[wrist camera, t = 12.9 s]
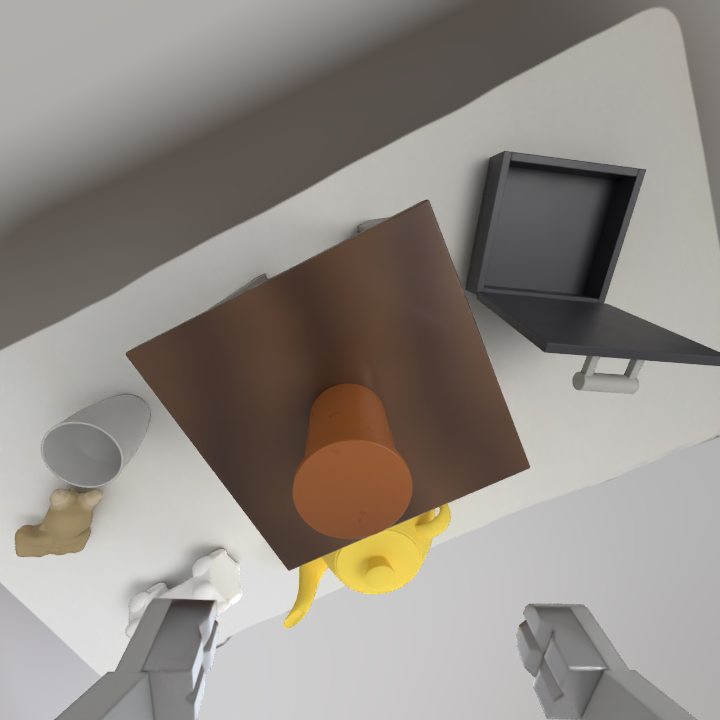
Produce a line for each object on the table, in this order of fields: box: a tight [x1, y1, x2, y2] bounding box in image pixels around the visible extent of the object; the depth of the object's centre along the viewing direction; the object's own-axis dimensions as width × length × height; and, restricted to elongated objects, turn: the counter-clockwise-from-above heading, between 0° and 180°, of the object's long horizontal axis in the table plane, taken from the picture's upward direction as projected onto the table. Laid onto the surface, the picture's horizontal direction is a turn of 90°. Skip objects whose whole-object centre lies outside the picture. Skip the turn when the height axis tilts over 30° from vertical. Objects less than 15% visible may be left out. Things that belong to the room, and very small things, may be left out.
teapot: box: [284, 504, 451, 628], centre depth 50 cm, size 25×18×14 cm
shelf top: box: [126, 200, 530, 571], centre depth 20 cm, size 16×16×1 cm
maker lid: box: [477, 292, 720, 394], centre depth 37 cm, size 15×16×5 cm
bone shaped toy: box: [125, 549, 242, 638], centre depth 55 cm, size 15×9×8 cm, turn 122°
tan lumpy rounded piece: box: [15, 488, 103, 557], centre depth 50 cm, size 8×7×12 cm
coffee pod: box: [293, 383, 412, 539], centre depth 17 cm, size 5×5×6 cm
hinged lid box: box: [465, 151, 646, 303], centre depth 43 cm, size 15×16×4 cm
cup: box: [41, 394, 151, 488], centre depth 44 cm, size 8×8×10 cm
